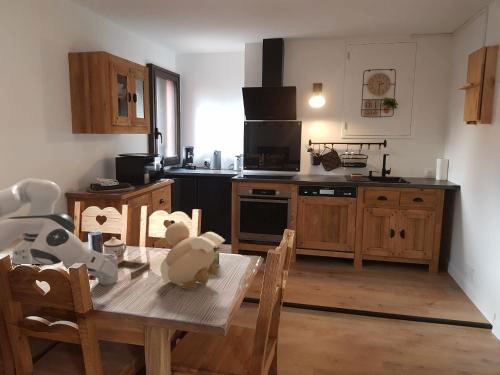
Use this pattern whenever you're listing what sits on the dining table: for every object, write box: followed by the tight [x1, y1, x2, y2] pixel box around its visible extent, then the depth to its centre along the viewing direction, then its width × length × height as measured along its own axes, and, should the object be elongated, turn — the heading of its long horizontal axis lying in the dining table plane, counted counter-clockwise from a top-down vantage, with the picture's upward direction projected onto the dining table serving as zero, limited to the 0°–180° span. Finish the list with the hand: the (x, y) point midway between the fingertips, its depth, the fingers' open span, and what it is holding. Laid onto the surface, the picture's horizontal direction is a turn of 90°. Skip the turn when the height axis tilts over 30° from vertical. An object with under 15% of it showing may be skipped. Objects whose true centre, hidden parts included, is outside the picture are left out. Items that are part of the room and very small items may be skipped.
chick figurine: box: [159, 220, 226, 293], centre depth 151 cm, size 30×28×23 cm
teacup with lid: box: [103, 236, 127, 262], centre depth 181 cm, size 12×9×12 cm
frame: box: [118, 259, 151, 279], centre depth 167 cm, size 14×13×2 cm
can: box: [97, 252, 119, 286], centre depth 153 cm, size 8×8×12 cm
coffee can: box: [197, 232, 220, 267], centre depth 177 cm, size 10×10×14 cm
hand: (99, 276), depth 148 cm, fingers closed
